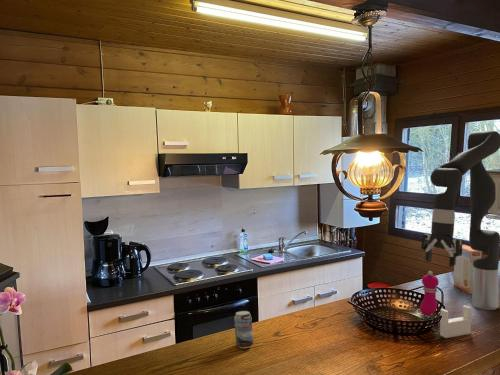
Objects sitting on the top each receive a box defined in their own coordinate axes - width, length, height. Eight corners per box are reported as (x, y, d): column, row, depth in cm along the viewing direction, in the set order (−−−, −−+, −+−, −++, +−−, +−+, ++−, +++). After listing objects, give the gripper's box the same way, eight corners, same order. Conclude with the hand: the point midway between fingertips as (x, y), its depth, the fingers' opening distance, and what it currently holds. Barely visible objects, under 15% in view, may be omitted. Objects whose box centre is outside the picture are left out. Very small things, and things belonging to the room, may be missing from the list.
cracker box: (481, 294, 178) (482, 250, 176) (468, 294, 178) (469, 251, 176) (465, 284, 192) (466, 244, 190) (453, 285, 192) (454, 244, 190)
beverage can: (240, 352, 129) (239, 318, 128) (231, 343, 135) (230, 310, 135) (256, 348, 132) (256, 314, 131) (247, 339, 138) (246, 307, 138)
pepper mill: (419, 322, 150) (419, 272, 148) (420, 315, 156) (420, 267, 155) (439, 325, 147) (440, 274, 145) (439, 318, 153) (440, 269, 151)
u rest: (465, 330, 142) (465, 305, 141) (470, 333, 139) (471, 307, 139) (440, 335, 139) (440, 309, 138) (445, 338, 136) (445, 311, 136)
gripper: (467, 223, 139) (464, 267, 139) (429, 218, 151) (426, 259, 151) (457, 224, 135) (454, 269, 135) (419, 219, 146) (416, 261, 146)
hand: (439, 264), depth 143 cm, fingers open, 8 cm apart
